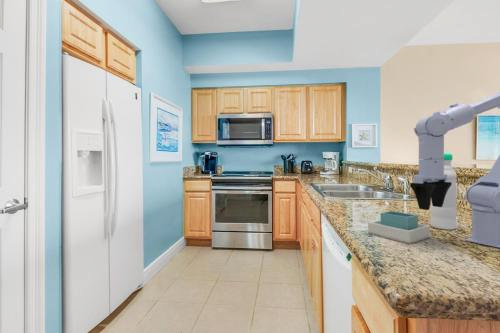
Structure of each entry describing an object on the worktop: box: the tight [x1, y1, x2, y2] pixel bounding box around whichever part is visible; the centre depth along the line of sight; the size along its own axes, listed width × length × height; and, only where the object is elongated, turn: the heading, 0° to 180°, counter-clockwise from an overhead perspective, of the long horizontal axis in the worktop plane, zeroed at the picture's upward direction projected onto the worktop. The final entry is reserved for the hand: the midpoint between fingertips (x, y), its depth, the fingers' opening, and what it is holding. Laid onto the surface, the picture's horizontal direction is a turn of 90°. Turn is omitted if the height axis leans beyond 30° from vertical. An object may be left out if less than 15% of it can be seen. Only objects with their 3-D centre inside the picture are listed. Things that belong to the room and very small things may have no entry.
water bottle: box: [429, 153, 458, 231], centre depth 85 cm, size 7×7×25 cm
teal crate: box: [380, 210, 419, 231], centre depth 76 cm, size 6×8×6 cm
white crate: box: [367, 219, 431, 245], centre depth 76 cm, size 11×12×4 cm
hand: (430, 208), depth 70 cm, fingers open, 7 cm apart
